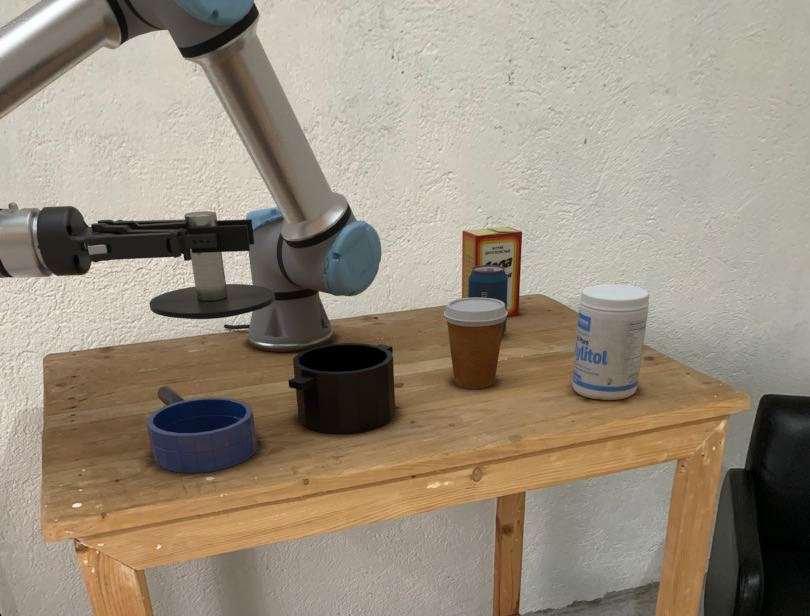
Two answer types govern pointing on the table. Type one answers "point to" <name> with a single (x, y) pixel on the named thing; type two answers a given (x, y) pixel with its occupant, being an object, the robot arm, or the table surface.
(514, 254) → the baking soda box
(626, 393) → the supplement tub
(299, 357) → the pot
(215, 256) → the lid
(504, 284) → the soda can
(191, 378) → the table surface
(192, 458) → the pan
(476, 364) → the disposable coffee cup
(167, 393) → the pan handle
